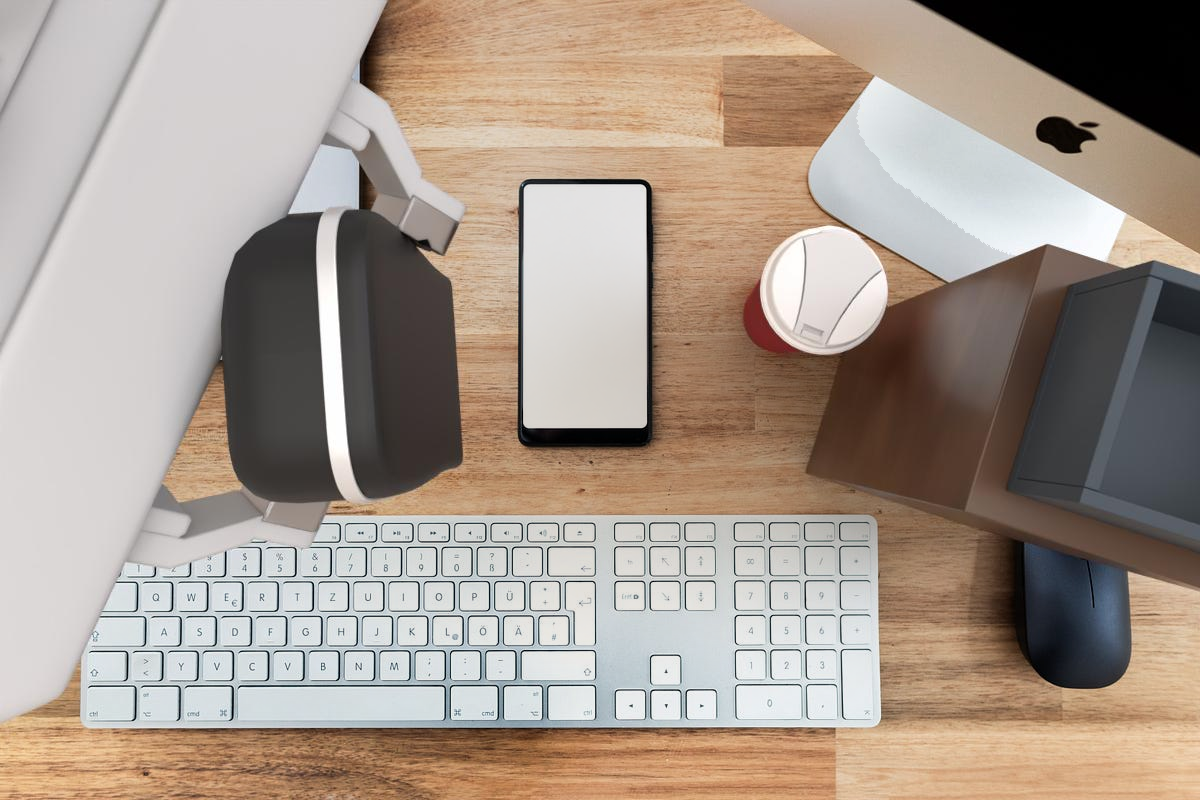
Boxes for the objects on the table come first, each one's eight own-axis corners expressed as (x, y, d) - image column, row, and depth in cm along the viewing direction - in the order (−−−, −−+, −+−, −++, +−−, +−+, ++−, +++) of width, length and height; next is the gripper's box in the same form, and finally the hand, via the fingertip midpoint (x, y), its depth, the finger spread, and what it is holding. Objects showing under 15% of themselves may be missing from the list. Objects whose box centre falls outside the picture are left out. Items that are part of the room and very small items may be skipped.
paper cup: (808, 383, 65) (867, 372, 51) (713, 345, 65) (745, 324, 51) (846, 286, 65) (915, 248, 51) (751, 248, 65) (793, 200, 51)
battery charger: (342, 278, 30) (182, 194, 18) (453, 270, 30) (362, 182, 18) (355, 480, 30) (202, 524, 18) (466, 473, 30) (383, 512, 18)
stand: (852, 320, 65) (1047, 242, 37) (1031, 377, 65) (1362, 343, 37) (804, 473, 64) (963, 512, 36) (983, 530, 64) (1281, 614, 36)
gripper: (-690, 796, 12) (261, 787, 21) (-33, -572, 12) (608, 36, 22) (-547, 589, 16) (184, 659, 26) (-74, -399, 16) (472, 40, 26)
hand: (380, 370), depth 24 cm, fingers closed on battery charger, 7 cm apart
